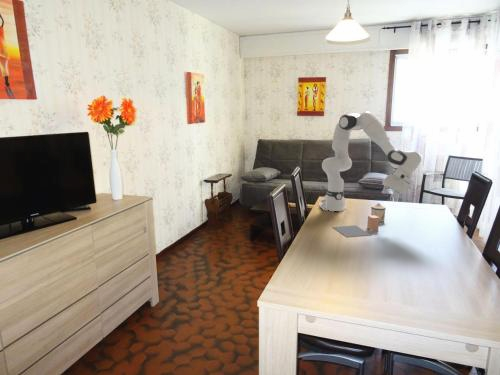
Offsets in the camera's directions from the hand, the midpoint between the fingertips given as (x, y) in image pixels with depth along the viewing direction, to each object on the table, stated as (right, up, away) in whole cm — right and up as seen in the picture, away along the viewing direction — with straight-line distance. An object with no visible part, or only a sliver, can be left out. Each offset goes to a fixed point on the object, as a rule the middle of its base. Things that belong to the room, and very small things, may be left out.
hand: (387, 195), depth 211 cm
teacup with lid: (+2, -17, +23) cm, 28 cm away
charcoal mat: (-22, -22, -1) cm, 31 cm away
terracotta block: (-8, -21, +3) cm, 23 cm away
